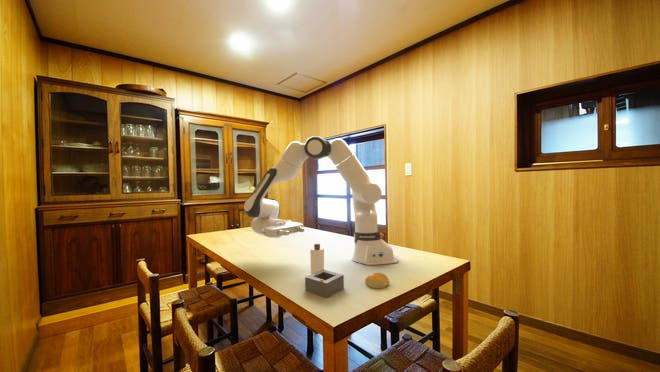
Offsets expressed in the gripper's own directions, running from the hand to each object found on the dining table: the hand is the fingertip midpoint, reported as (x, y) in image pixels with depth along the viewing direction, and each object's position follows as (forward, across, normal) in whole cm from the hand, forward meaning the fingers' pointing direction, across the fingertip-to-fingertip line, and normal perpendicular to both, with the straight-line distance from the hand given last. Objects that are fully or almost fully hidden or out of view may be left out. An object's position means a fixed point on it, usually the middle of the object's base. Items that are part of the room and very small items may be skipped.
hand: (296, 231), depth 119 cm
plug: (+12, 0, +17) cm, 21 cm away
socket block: (+24, -9, +17) cm, 31 cm away
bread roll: (+37, +7, +17) cm, 42 cm away
